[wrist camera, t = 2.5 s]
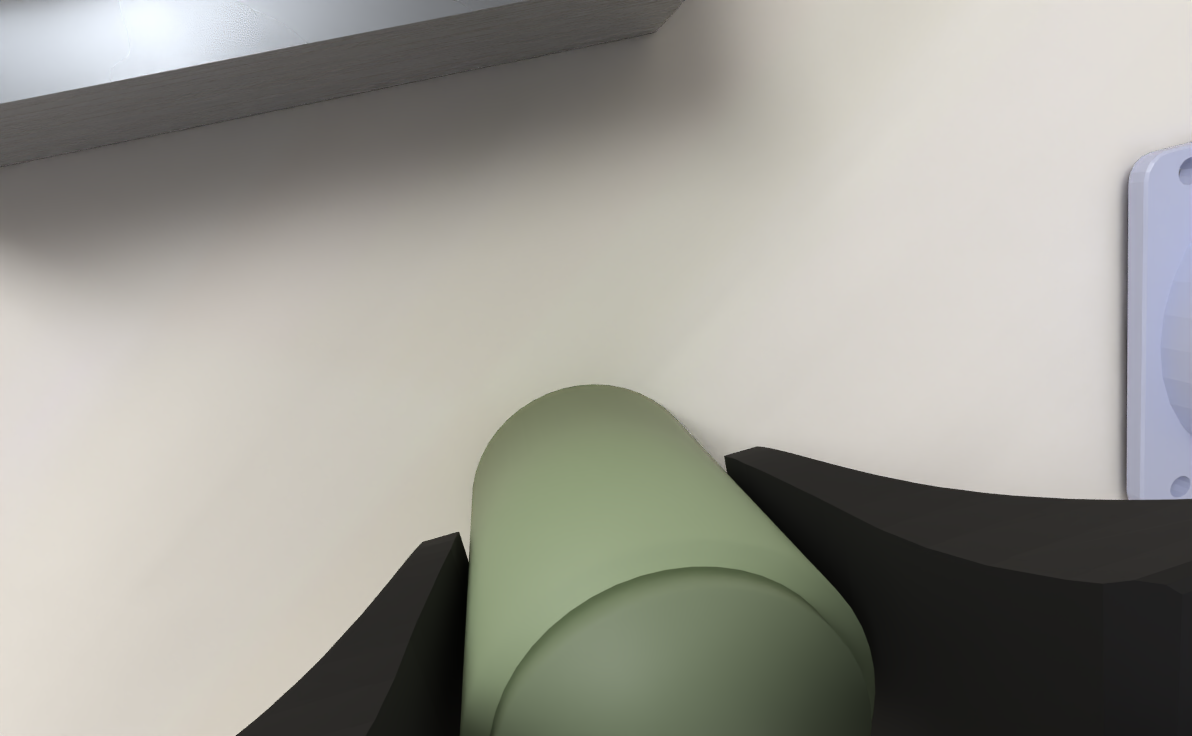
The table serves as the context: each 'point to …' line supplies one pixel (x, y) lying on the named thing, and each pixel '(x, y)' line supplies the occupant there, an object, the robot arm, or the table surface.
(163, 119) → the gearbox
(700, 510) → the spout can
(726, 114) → the table surface
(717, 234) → the table surface
